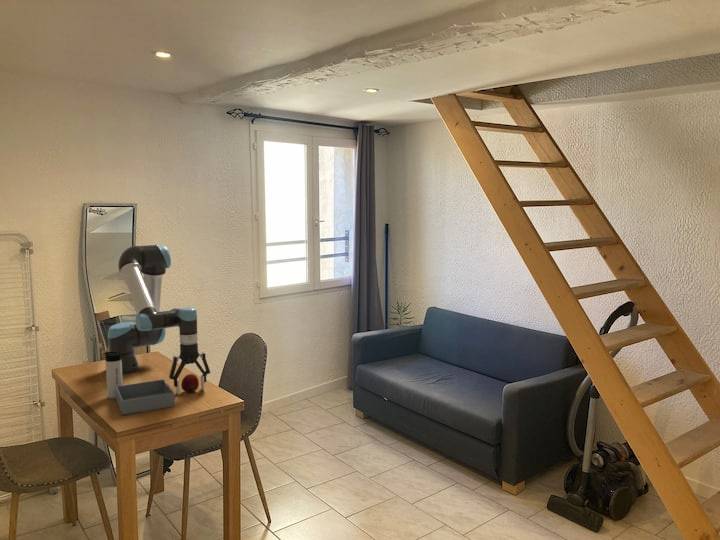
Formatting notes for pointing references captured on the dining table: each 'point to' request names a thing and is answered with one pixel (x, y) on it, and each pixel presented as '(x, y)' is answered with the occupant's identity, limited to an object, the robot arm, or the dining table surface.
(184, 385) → the apple
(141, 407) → the tub
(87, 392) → the dining table surface
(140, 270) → the robot arm
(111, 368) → the travel mug
